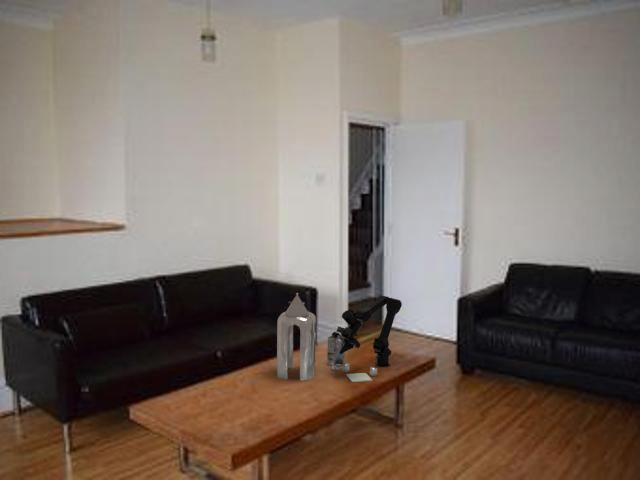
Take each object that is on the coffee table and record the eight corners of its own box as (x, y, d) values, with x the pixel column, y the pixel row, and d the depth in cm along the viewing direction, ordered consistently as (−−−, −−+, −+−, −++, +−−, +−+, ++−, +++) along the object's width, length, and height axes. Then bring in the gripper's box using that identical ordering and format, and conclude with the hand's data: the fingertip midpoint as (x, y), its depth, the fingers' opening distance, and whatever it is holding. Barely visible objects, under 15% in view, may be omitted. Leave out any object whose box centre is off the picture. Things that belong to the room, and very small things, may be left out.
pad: (365, 373, 317) (365, 372, 317) (372, 380, 307) (372, 379, 307) (346, 375, 315) (346, 374, 315) (352, 382, 304) (352, 381, 304)
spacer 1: (337, 368, 327) (338, 361, 326) (339, 370, 323) (339, 363, 322) (331, 368, 326) (331, 361, 325) (332, 370, 322) (332, 363, 321)
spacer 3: (375, 373, 318) (375, 366, 318) (378, 376, 315) (378, 369, 314) (368, 374, 317) (368, 367, 317) (371, 376, 313) (371, 369, 313)
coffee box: (335, 366, 329) (336, 339, 327) (326, 364, 333) (327, 336, 331) (345, 362, 336) (345, 335, 335) (336, 360, 340) (336, 333, 338)
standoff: (342, 362, 316) (343, 337, 315) (345, 366, 310) (346, 340, 309) (332, 363, 315) (332, 337, 313) (335, 367, 309) (335, 340, 307)
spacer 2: (348, 369, 324) (348, 362, 323) (350, 372, 320) (350, 365, 320) (341, 370, 323) (341, 363, 323) (343, 372, 319) (343, 365, 319)
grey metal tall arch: (316, 368, 325) (317, 290, 320) (312, 381, 305) (313, 297, 300) (281, 366, 327) (281, 288, 322) (274, 379, 307) (275, 296, 302)
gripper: (334, 317, 320) (318, 340, 314) (356, 324, 305) (340, 348, 300) (344, 329, 325) (329, 351, 320) (367, 336, 311) (351, 360, 305)
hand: (337, 352), depth 311 cm, fingers closed on standoff, 4 cm apart
